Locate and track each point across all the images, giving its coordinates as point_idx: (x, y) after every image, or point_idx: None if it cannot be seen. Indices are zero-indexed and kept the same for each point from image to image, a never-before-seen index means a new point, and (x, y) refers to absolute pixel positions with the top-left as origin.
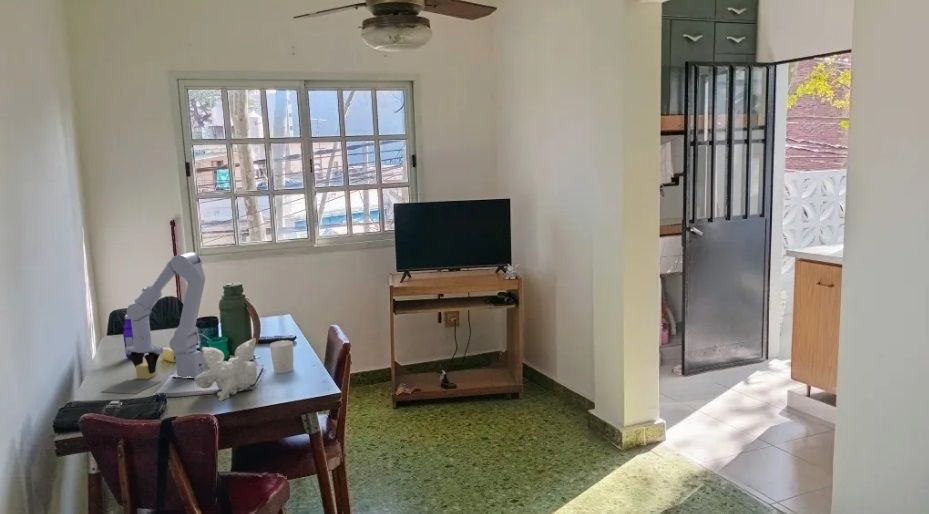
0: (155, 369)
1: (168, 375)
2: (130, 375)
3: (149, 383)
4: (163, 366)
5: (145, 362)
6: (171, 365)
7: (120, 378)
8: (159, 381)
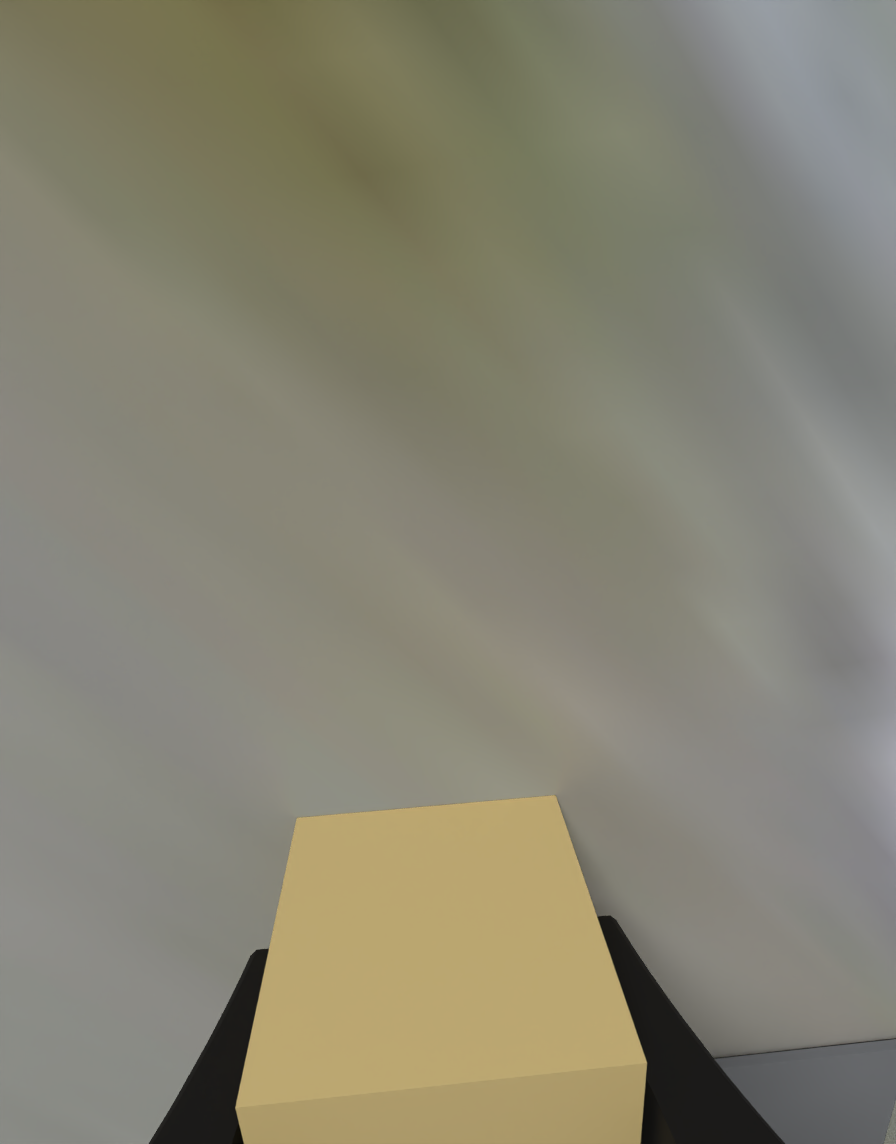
0: (583, 896)
1: (843, 783)
2: (25, 931)
3: (777, 1133)
4: (206, 224)
5: (291, 1118)
6: (387, 77)
7: (9, 1070)
8: (887, 1052)
